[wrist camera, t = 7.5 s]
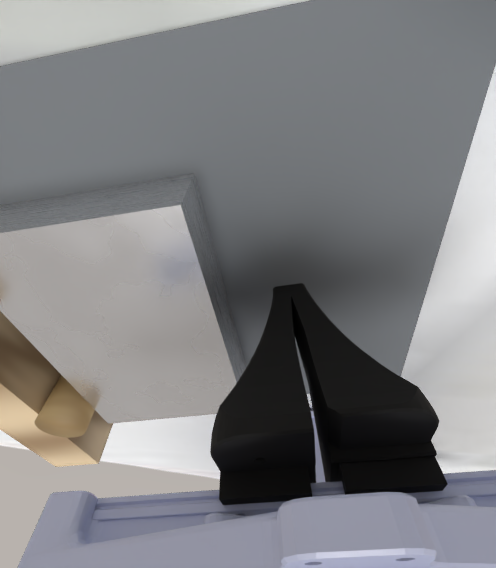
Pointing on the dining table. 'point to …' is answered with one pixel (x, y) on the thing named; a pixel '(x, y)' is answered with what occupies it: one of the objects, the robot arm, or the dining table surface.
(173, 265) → the grey flat piece
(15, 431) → the bench fence
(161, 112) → the bench mat
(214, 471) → the dining table surface
